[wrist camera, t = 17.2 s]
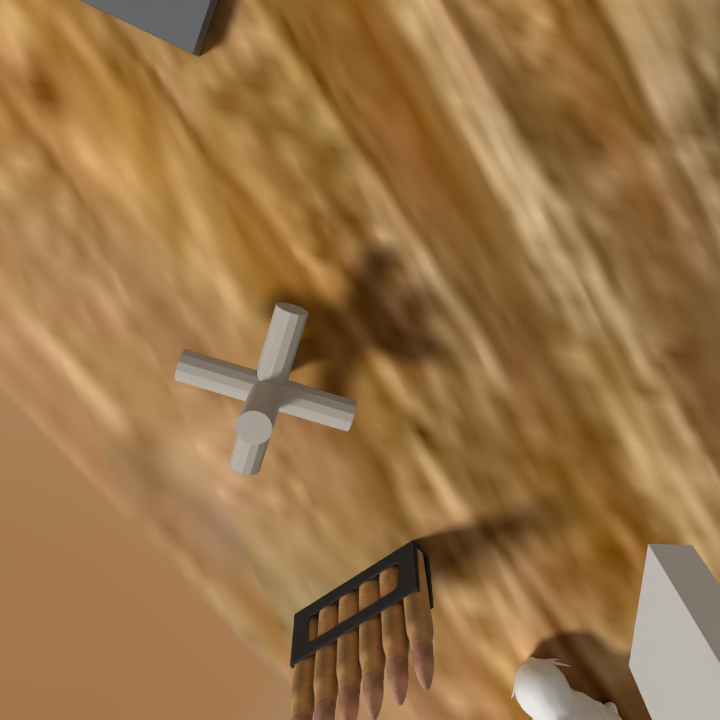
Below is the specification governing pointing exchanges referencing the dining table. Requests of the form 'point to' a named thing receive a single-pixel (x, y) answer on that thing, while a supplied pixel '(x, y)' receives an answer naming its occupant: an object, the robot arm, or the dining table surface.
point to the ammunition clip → (364, 639)
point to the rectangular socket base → (165, 18)
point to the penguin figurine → (555, 694)
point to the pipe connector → (266, 389)
